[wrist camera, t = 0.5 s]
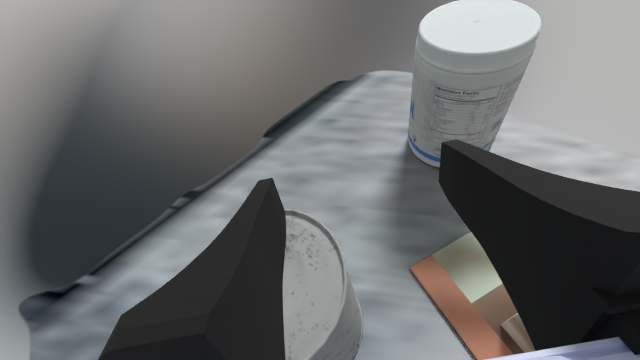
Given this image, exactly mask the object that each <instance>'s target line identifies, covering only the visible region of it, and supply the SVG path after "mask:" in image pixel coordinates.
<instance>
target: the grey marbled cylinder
mask: <svg viewBox="0 0 640 360" xmlns="http://www.w3.org/2000/svg"><path fill="white" fill-rule="evenodd" d="M284 210H285V215H286V247H285V259H284V271H283V320H284V341H285V358H286V360H353V358H354V356H355V355H356V353H357V351H358V348H359V345H360V342H361V338H362V331H363V318H362V310H361V307H360V304H359V301H358V298H357V296H356V295H355V293H354V290H353V287H352V284H351V281H350V278H349V275H348V272H347V268H346V262H345V259H344V256H343V253H342V250H341V247H340V245H339V243H338V242H337V240H336V238H335V237H334V235H333V234H332V232H331V231H330V230H329V229H328V228H327V227H326V226H325V225H324V224H323V223H322V222H320V221H319V220H317V219H316V218H314V217H312V216H310V215H309V214H307V213H303V212H300V211H297V210H293V209H284Z"/></svg>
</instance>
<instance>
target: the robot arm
mask: <svg viewBox="0 0 640 360" xmlns="http://www.w3.org/2000/svg"><path fill="white" fill-rule="evenodd" d="M439 183H440V185H441V187H442V189H443V191H444V193H445V195H446V197H447V199H448V200H449V202H450V203H451V205H452V206H453V208H454V209H455V210H456V212H457V213H458V215H459V216H460V217H461V219H462V220H463V221H464V223H465V224H466V225H467V227H468V228H469V230H470V231H471V232H472V234H473V235H474V236H475V238H476V239H477V241H478V242H479V243H480V245H481V246H482V248H483V249H484V251H485V253H486V254H487V256H488V258H489V260H490V261H491V263H492V265H493V267H494V268H495V270H496V272H497V274H498V276H499V278H500V279H501V281H502V283H503V285H504V287H505V289H506V291H507V292H508V294H509V296H510V298H511V300H512V302H513V304H514V306H515V308H516V310H517V312H518V314H519V316H520V318H521V320H522V322H523V325H524V327H525V329H526V331H527V333H528V335H529V338H530V340H531V342H532V344H533V346H534V348H535V351H532V352H526V353H520V354H514V355H508V356H502V357H497V358H491V359H485V360H640V192H637V191H631V190H624V189H619V188H613V187H607V186H603V185H598V184H593V183H588V182H583V181H579V180H575V179H570V178H566V177H563V176H559V175H555V174H552V173H548V172H544V171H541V170H538V169H535V168H532V167H529V166H526V165H523V164H520V163H517V162H514V161H512V160H509V159H506V158H504V157H501V156H499V155H496V154H493V153H491V152H489V151H486V150H484V149H481V148H479V147H476V146H474V145H471V144H469V143H466V142H463V141H460V140H457V139H455V140H450V141H446V142H442V143H441V157H440V171H439ZM285 247H286V215H285V210H284V208H283V205H282V202H281V200H280V197H279V194H278V191H277V189H276V186H275V183H274V181H273V178H269V179H265V180H260V181H258V182H257V184H256V185H255V187H254V188H253V190H252V191H251V193H250V194H249V196H248V197H247V199H246V200H245V202H244V203H243V204H242V206H241V207H240V209H239V210H238V211H237V213H236V214H235V215H234V217H233V218H232V219H231V220H230V222H229V223H228V224H227V226H226V227H225V228H224V229H223V231H222V232H221V233H220V234H219V235H218V236H217V237H216V239H215V240H214V241H213V242H212V243H211V244H210V245H209V246H208V247H207V248H206V249H205V250H204V251H203V252H202V253H201V254H200V255H199V256H198V257H196V258H195V259H194V260H193V261H192V262H191V263H190V264H189V265H188V266H187V267H186V268H184V269H183V270H182V271H181V272H180V273H178V274H177V275H176V276H175V277H174V278H172V279H171V280H170V281H169V282H167V283H166V284H165V285H163V286H162V287H161V288H160V289H158V290H157V291H155V292H154V293H153V294H151V295H150V296H148V297H147V298H146V299H144V300H143V301H141V302H140V303H138V304H137V305H136V306H134V307H133V308H131V309H130V310H128V311H127V312H125V313H124V314H122V315H121V317H120V319H119V320H118V322H117V324H116V326H115V328H114V330H113V332H112V334H111V336H110V338H109V340H108V342H107V344H106V345H105V347H104V349H103V351H102V353H101V355H100V357H99V359H98V360H286V358H285V341H284V320H283V271H284V259H285Z"/></svg>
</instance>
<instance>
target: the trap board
mask: <svg viewBox="0 0 640 360" xmlns="http://www.w3.org/2000/svg"><path fill="white" fill-rule="evenodd" d="M410 270H411V271H412V273H413V274H414V275H415V277H416V278H417V279H418V281H419V282H420V283H421V285H422V286H423V287H424V289H425V290H426V292H427V293H428V294H429V296H430V297H431V298H432V300H433V301H434V302H435V304H436V305H437V307H438V308H439V309H440V311H441V312H442V313H443V315H444V316H445V317H446V319H447V320H448V321H449V323H450V324H451V326H452V327H453V328H454V330H455V331H456V332H457V334H458V335H459V336H460V338H461V339H462V340H463V342H464V343H465V345H466V346H467V347H468V349H469V350H470V351H471V353H472V354H473V355H474V357H475V358H476V360H485V359H491V358H497V357H502V356H508V355H514V354H520V353H524V352H523V351H522V349H521V348H520V347H519V346H518V345H517V343H516V342H515V341H514V340H513V339H512V338H511V336H510V335H509V334H508V333H507V332H506V331H505V329H504V328H503V327H502V326H501V325H500V324H502V323H503V322H505V321H506V320H508V319H510V318H511V317H513V316H514V315H516V314H517V313H518V312H517V310H516V308H515V306H514V304H513V302H512V300H511V298H510V296H509V294H508V292H507V291H506V289H505V287H504V285H503V283H502V281H501V279H500V278H499V276H498V274H497V272H496V270H495V268H494V267H493V265H492V263H491V261H490V260H489V258H488V256H487V254H486V253H485V251H484V249H483V248H482V246H481V245H480V243H479V242H478V241H477V239H476V238H475V236H474V235H473V234H472V232H469V233H467V234H466V235H464V236H462V237H461V238H459V239H457V240H455V241H454V242H452V243H450V244H449V245H447V246H445V247H444V248H442V249H440V250H439V251H437V252H435V253H434V254H432V255H430V256H429V257H427V258H425V259H424V260H422V261H420V262H419V263H417V264H415V265H413V266H412V267H410Z"/></svg>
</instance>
